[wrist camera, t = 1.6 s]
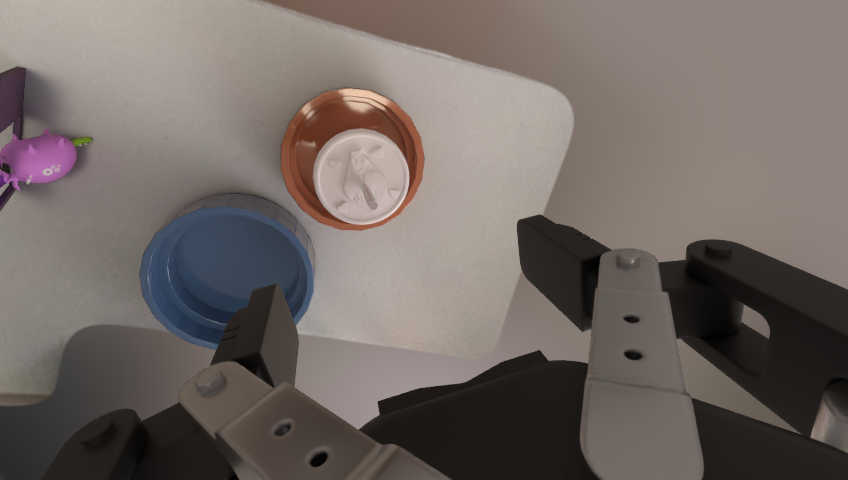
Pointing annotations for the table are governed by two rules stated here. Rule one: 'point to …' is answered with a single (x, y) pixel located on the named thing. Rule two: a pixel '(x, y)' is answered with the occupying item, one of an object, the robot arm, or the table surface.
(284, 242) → the blue bowl
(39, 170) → the purple framed piece
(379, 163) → the smoothie
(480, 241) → the table surface
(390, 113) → the terracotta bowl
